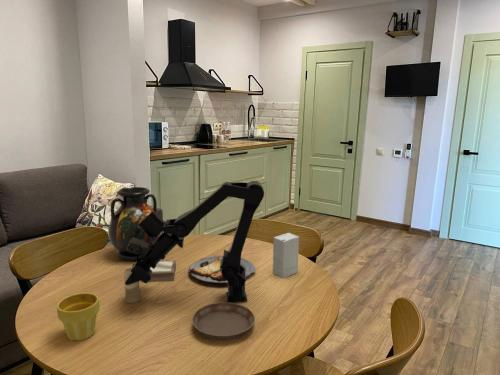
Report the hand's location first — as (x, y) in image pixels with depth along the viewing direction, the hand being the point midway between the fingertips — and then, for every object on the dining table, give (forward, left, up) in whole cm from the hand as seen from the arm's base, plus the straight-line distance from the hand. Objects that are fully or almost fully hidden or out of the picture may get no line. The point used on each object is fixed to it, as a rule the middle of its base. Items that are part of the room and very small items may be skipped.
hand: (127, 280), depth 119 cm
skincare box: (+15, -55, -7) cm, 57 cm away
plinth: (+18, -8, -7) cm, 21 cm away
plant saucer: (-18, -30, -7) cm, 36 cm away
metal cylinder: (0, -1, -7) cm, 7 cm away
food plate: (+18, -31, -7) cm, 36 cm away
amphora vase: (+39, +4, -7) cm, 40 cm away
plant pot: (-18, +9, -7) cm, 21 cm away
